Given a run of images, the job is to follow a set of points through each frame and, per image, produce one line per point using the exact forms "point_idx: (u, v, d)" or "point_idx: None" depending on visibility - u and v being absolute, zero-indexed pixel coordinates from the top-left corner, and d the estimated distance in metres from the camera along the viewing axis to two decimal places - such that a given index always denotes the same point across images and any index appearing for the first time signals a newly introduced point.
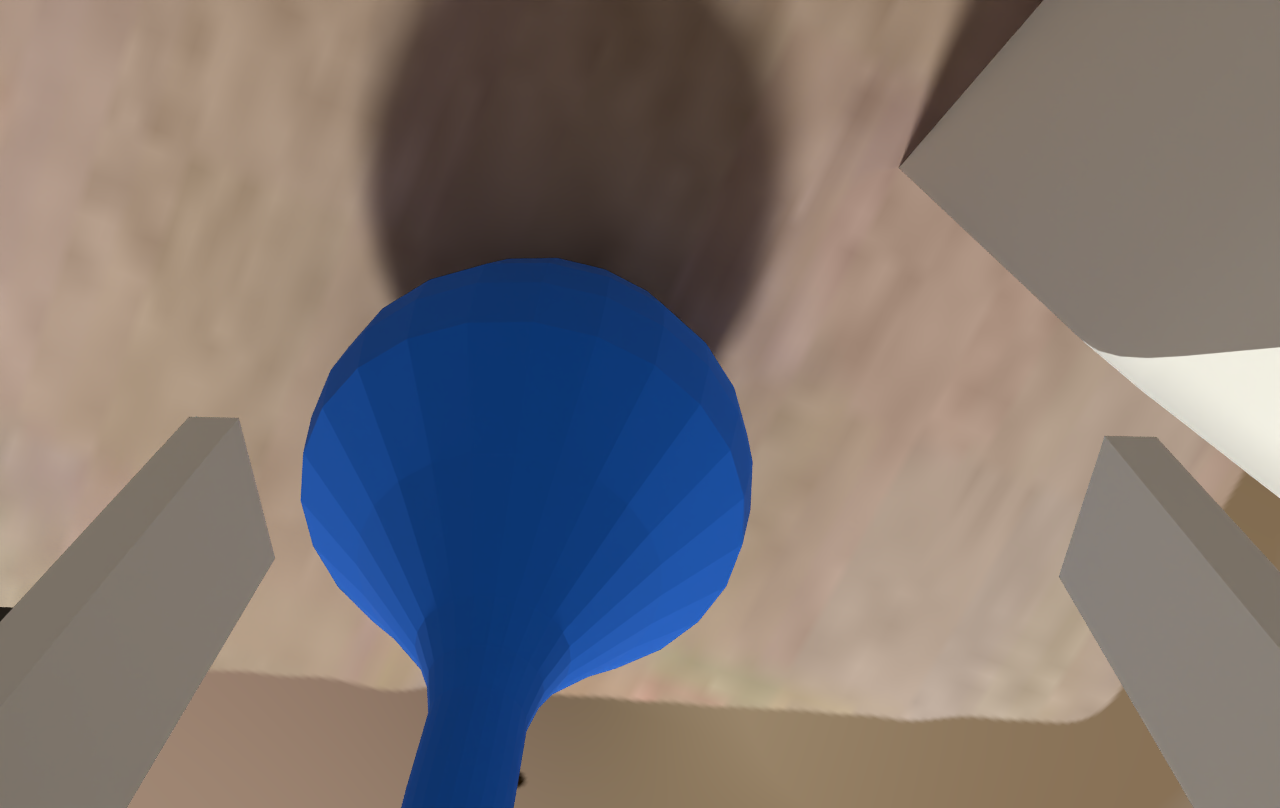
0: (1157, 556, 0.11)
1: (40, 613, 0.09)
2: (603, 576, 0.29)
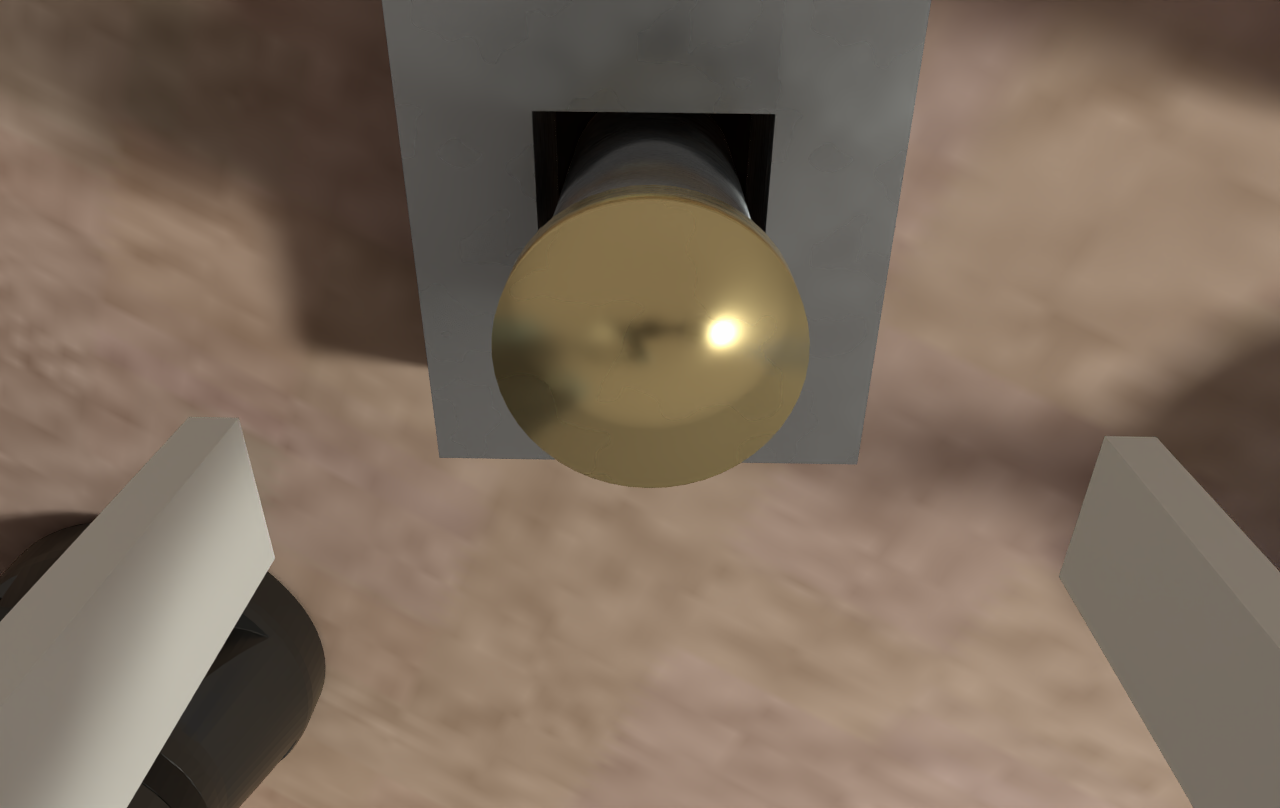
0: (1158, 556, 0.11)
1: (40, 613, 0.09)
2: None
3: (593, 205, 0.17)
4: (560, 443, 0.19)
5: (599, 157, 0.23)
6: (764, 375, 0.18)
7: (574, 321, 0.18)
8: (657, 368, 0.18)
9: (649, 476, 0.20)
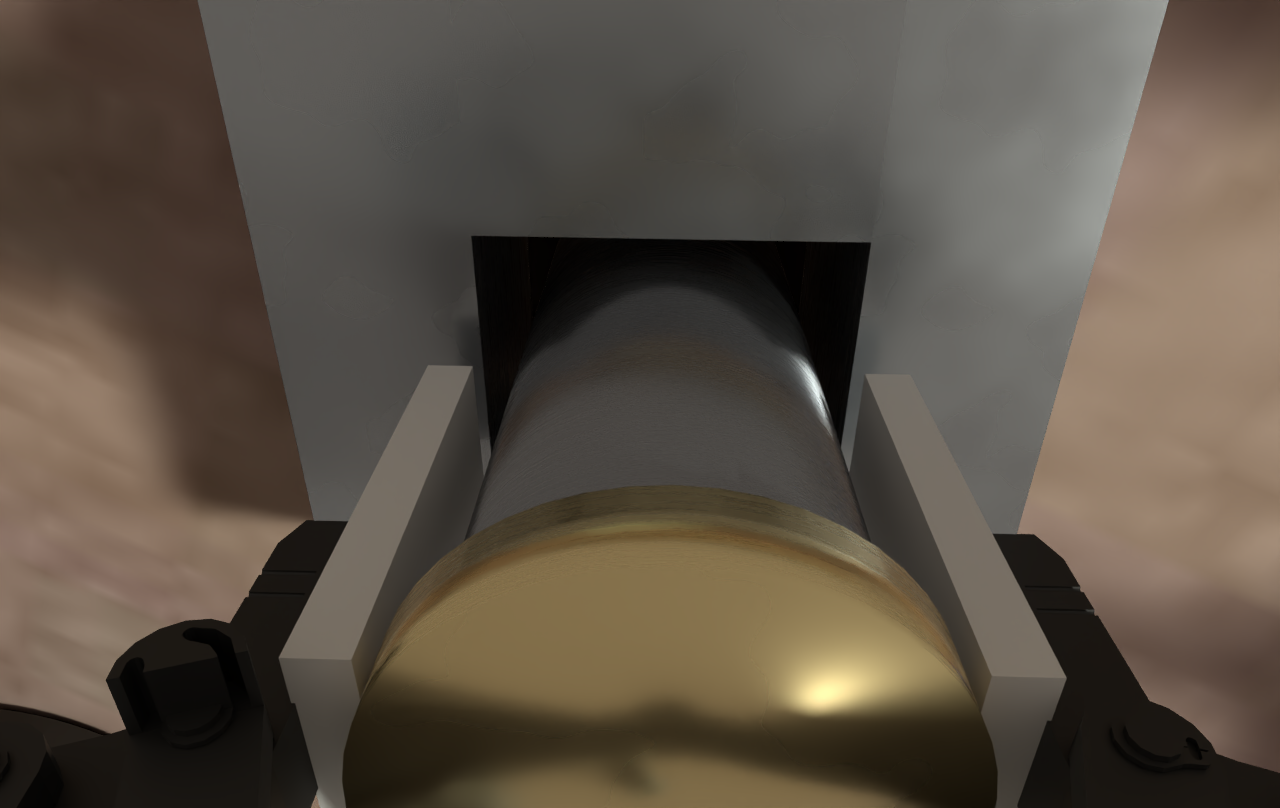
0: (885, 473, 0.13)
1: (378, 517, 0.11)
2: None
3: (545, 551, 0.08)
4: None
5: (580, 320, 0.14)
6: None
7: (509, 761, 0.09)
8: None
9: None
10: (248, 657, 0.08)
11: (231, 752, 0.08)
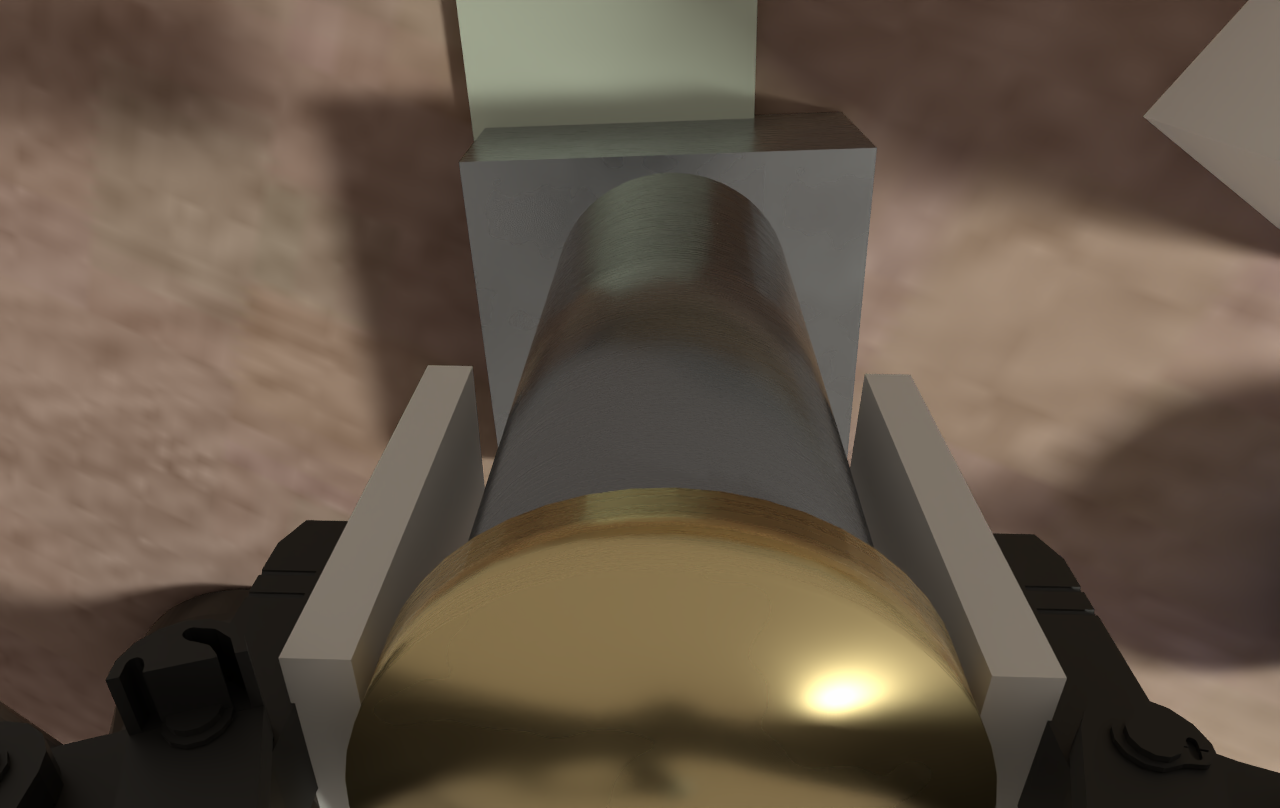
0: (885, 472, 0.13)
1: (378, 517, 0.11)
2: None
3: (547, 553, 0.08)
4: None
5: (585, 322, 0.14)
6: None
7: (511, 760, 0.09)
8: None
9: None
10: (248, 657, 0.08)
11: (231, 752, 0.08)
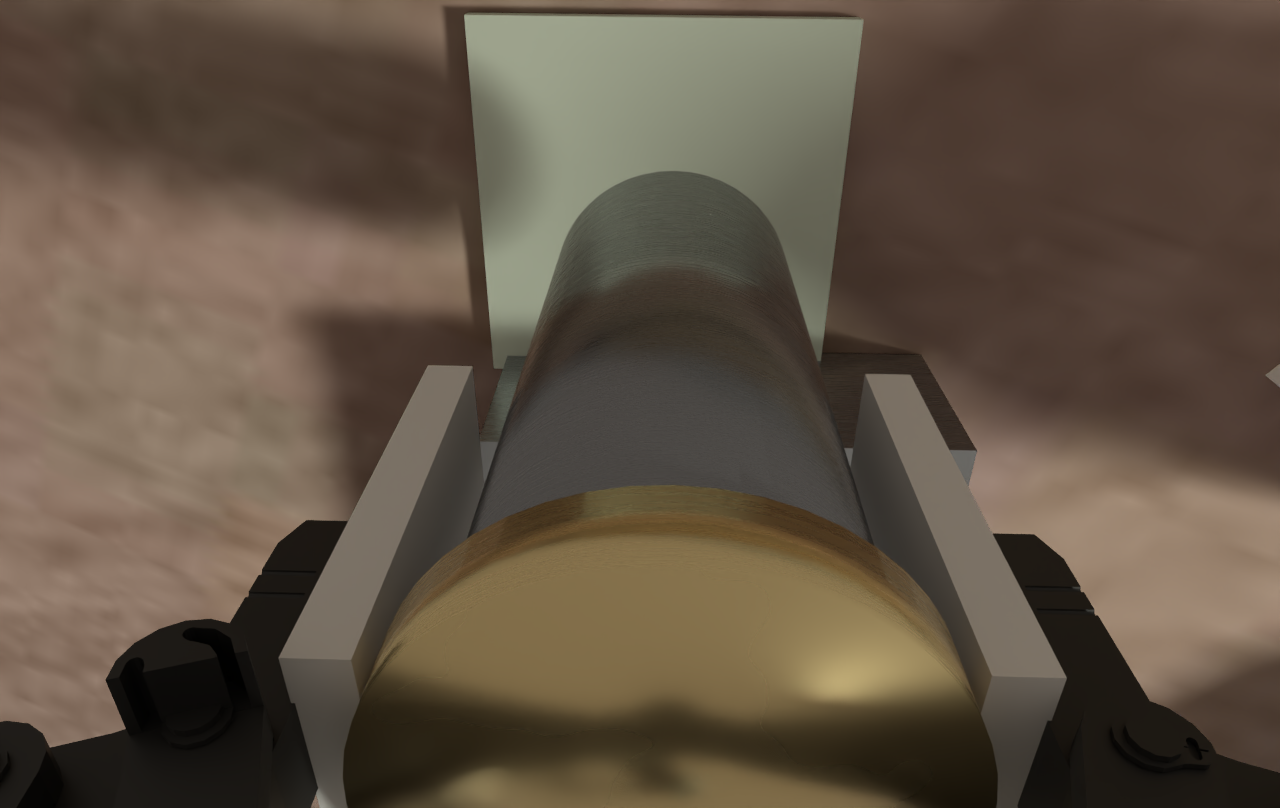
0: (885, 472, 0.13)
1: (378, 517, 0.11)
2: None
3: (545, 550, 0.08)
4: None
5: (584, 320, 0.14)
6: None
7: (509, 759, 0.09)
8: None
9: None
10: (249, 657, 0.08)
11: (232, 752, 0.08)
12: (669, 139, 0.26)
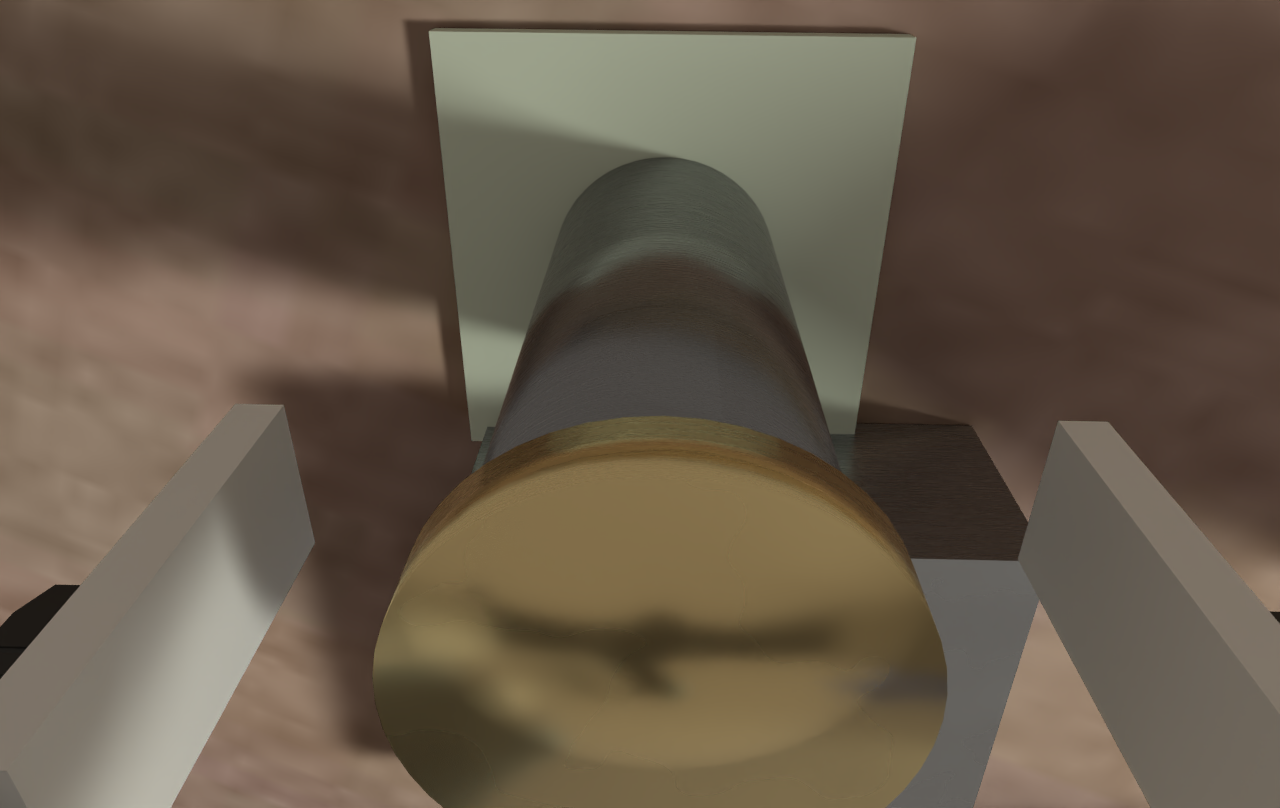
0: (1104, 536, 0.12)
1: (108, 588, 0.10)
2: None
3: (551, 469, 0.09)
4: None
5: (582, 289, 0.15)
6: (860, 739, 0.10)
7: (520, 659, 0.10)
8: (670, 727, 0.10)
9: None
10: None
11: None
12: None
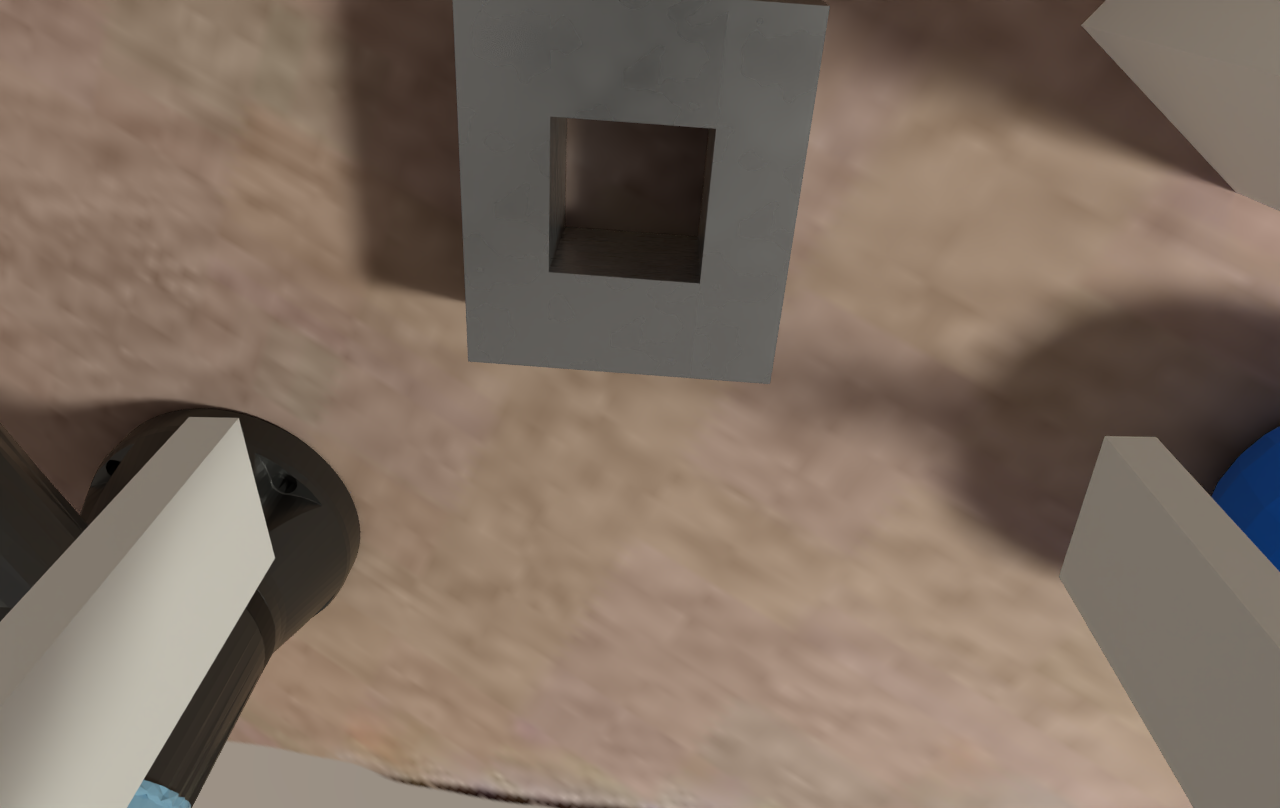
0: (1156, 556, 0.11)
1: (40, 613, 0.09)
2: None
3: None
4: None
5: None
6: None
7: None
8: None
9: None
10: None
11: None
12: None
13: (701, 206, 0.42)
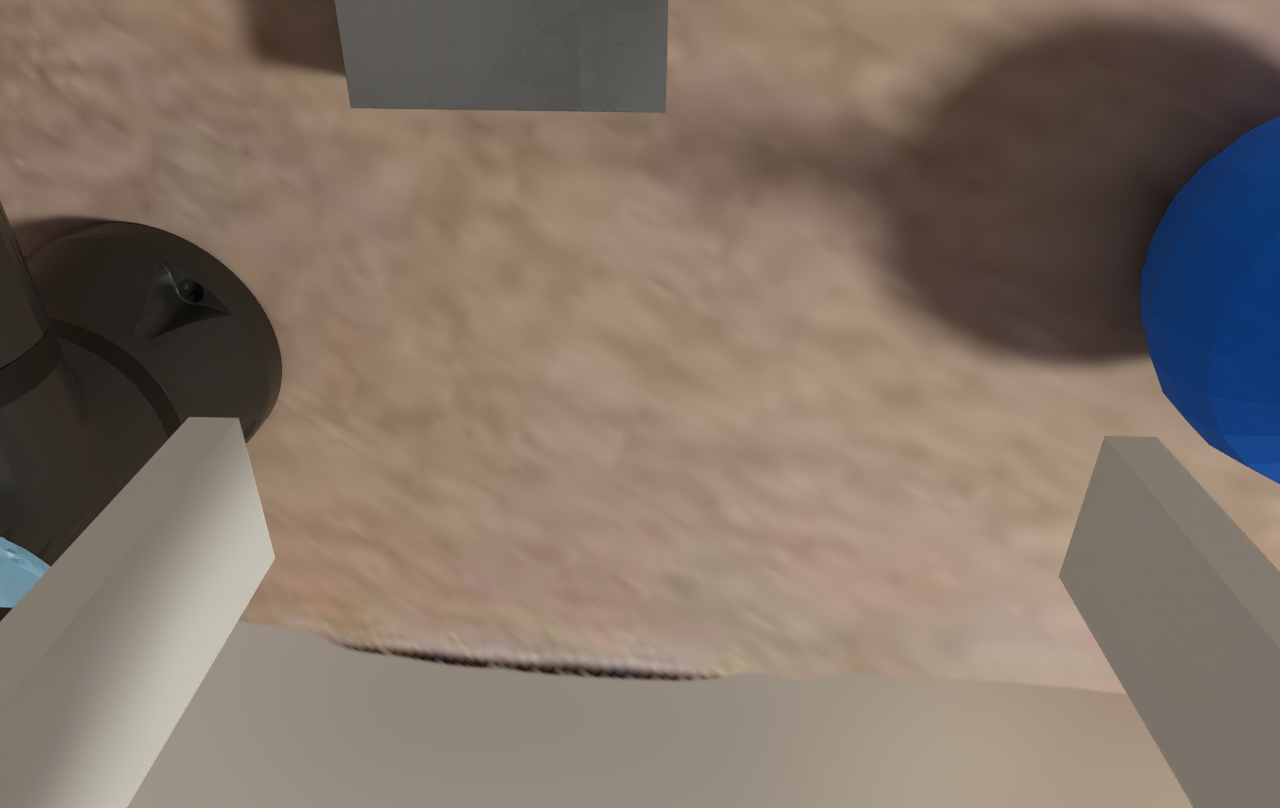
0: (1158, 556, 0.11)
1: (40, 613, 0.09)
2: None
3: None
4: None
5: None
6: None
7: None
8: None
9: None
10: None
11: None
12: None
13: None
